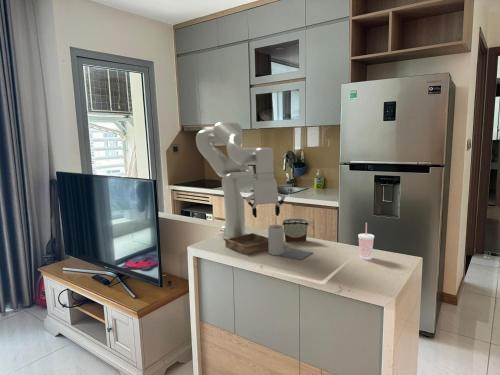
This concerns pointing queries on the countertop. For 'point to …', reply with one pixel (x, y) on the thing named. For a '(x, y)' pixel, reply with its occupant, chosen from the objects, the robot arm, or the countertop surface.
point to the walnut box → (236, 241)
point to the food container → (295, 230)
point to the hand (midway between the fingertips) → (266, 216)
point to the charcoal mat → (296, 254)
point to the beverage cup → (365, 245)
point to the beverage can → (276, 239)
